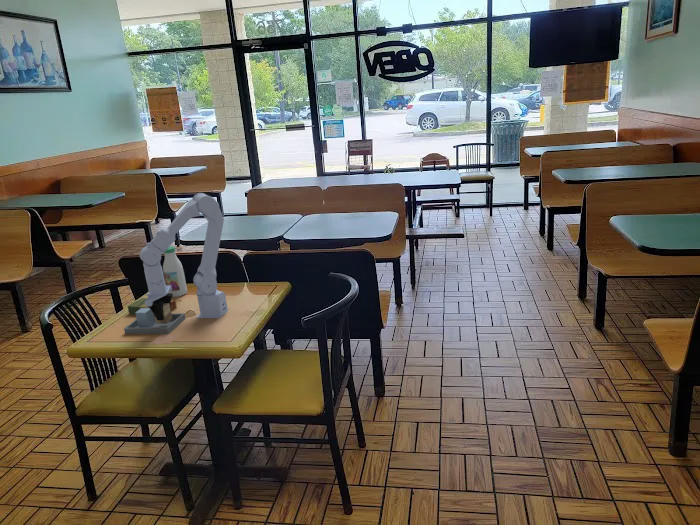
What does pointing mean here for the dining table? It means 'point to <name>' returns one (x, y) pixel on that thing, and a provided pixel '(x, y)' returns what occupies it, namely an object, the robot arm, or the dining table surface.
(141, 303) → the carton
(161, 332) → the parts tray
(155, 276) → the robot arm
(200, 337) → the dining table surface
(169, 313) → the oak block
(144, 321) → the slate block
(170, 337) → the terracotta pad
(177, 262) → the milk bottle
